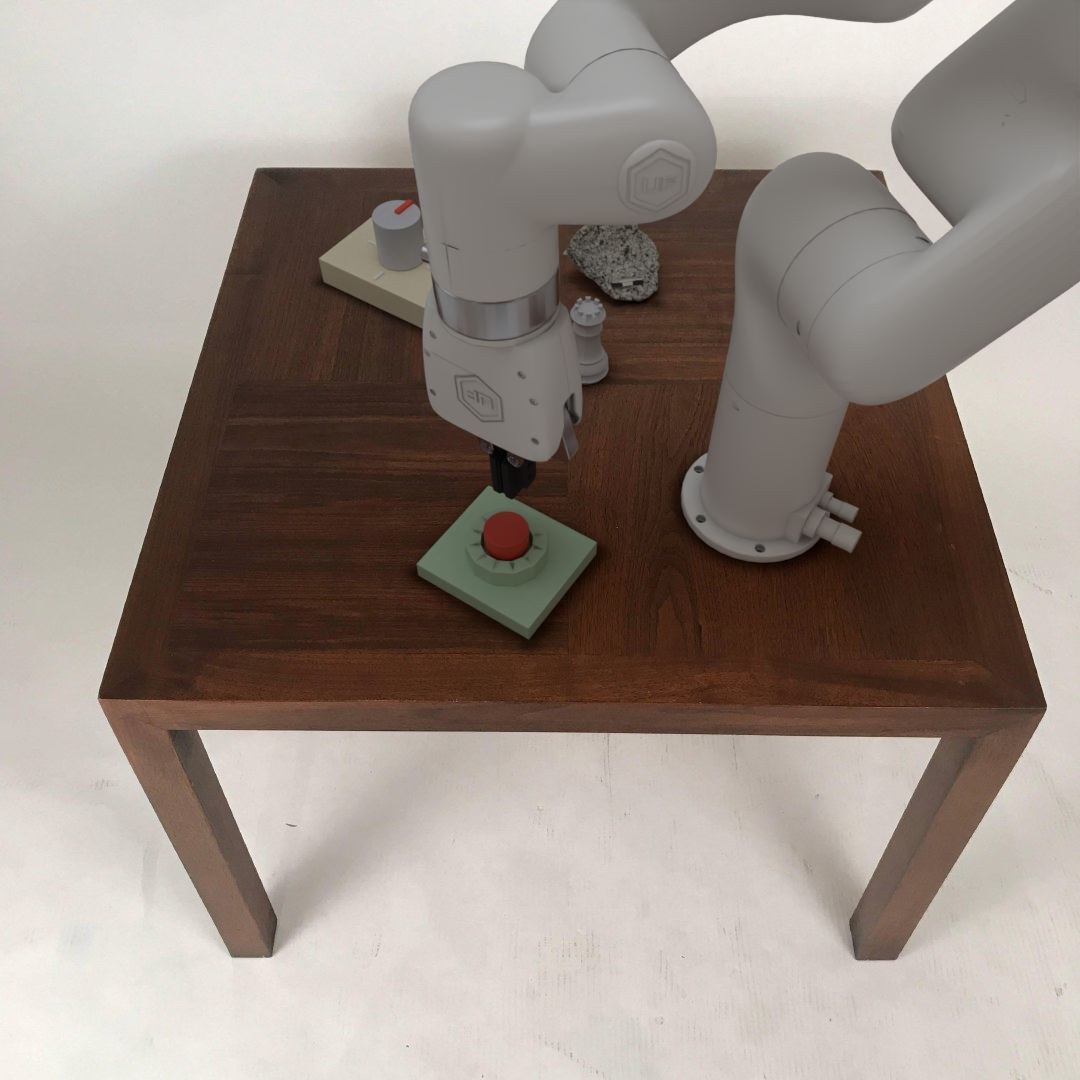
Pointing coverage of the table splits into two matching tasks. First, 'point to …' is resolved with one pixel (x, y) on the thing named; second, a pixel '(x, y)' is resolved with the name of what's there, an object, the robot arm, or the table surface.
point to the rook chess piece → (590, 339)
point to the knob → (398, 234)
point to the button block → (507, 564)
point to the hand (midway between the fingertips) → (514, 482)
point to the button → (506, 535)
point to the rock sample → (617, 260)
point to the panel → (376, 276)
